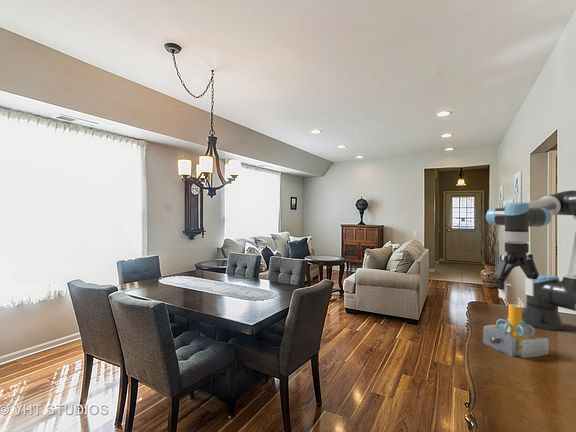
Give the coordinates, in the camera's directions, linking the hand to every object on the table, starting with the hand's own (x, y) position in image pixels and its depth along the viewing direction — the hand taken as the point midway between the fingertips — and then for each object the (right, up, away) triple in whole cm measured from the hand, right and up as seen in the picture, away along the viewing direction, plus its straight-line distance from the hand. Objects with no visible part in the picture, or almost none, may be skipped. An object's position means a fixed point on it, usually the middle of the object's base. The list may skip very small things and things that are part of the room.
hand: (516, 296), depth 119 cm
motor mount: (-3, -20, -1) cm, 20 cm away
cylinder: (-1, -19, 0) cm, 19 cm away
